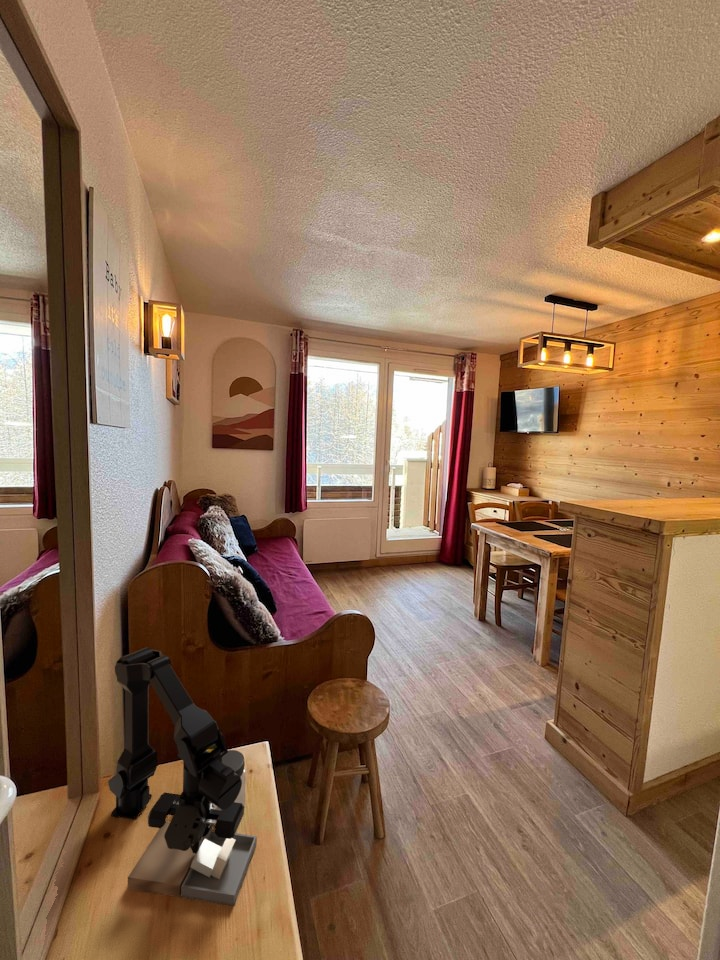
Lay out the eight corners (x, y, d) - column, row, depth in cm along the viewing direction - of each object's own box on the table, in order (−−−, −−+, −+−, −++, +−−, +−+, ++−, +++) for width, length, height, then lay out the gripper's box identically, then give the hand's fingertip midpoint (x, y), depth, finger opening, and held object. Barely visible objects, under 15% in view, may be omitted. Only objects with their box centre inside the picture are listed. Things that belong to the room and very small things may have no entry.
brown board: (127, 888, 78) (127, 877, 78) (163, 831, 90) (163, 821, 90) (179, 897, 77) (179, 885, 77) (208, 838, 89) (209, 828, 89)
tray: (180, 897, 77) (181, 886, 77) (210, 838, 89) (210, 829, 89) (234, 905, 76) (234, 895, 76) (256, 845, 88) (256, 836, 88)
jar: (249, 811, 96) (250, 765, 95) (216, 830, 91) (217, 782, 90) (235, 787, 103) (236, 743, 102) (203, 803, 98) (204, 758, 97)
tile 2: (217, 856, 80) (225, 861, 80) (227, 835, 84) (235, 839, 84) (210, 874, 80) (219, 879, 80) (221, 853, 85) (229, 857, 85)
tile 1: (190, 867, 80) (193, 859, 80) (201, 846, 85) (204, 838, 85) (209, 877, 80) (212, 869, 80) (220, 855, 84) (223, 847, 84)
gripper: (130, 810, 75) (129, 885, 76) (222, 823, 73) (220, 901, 74) (164, 764, 86) (163, 831, 87) (246, 775, 84) (243, 843, 85)
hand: (195, 851), depth 83 cm, fingers closed
